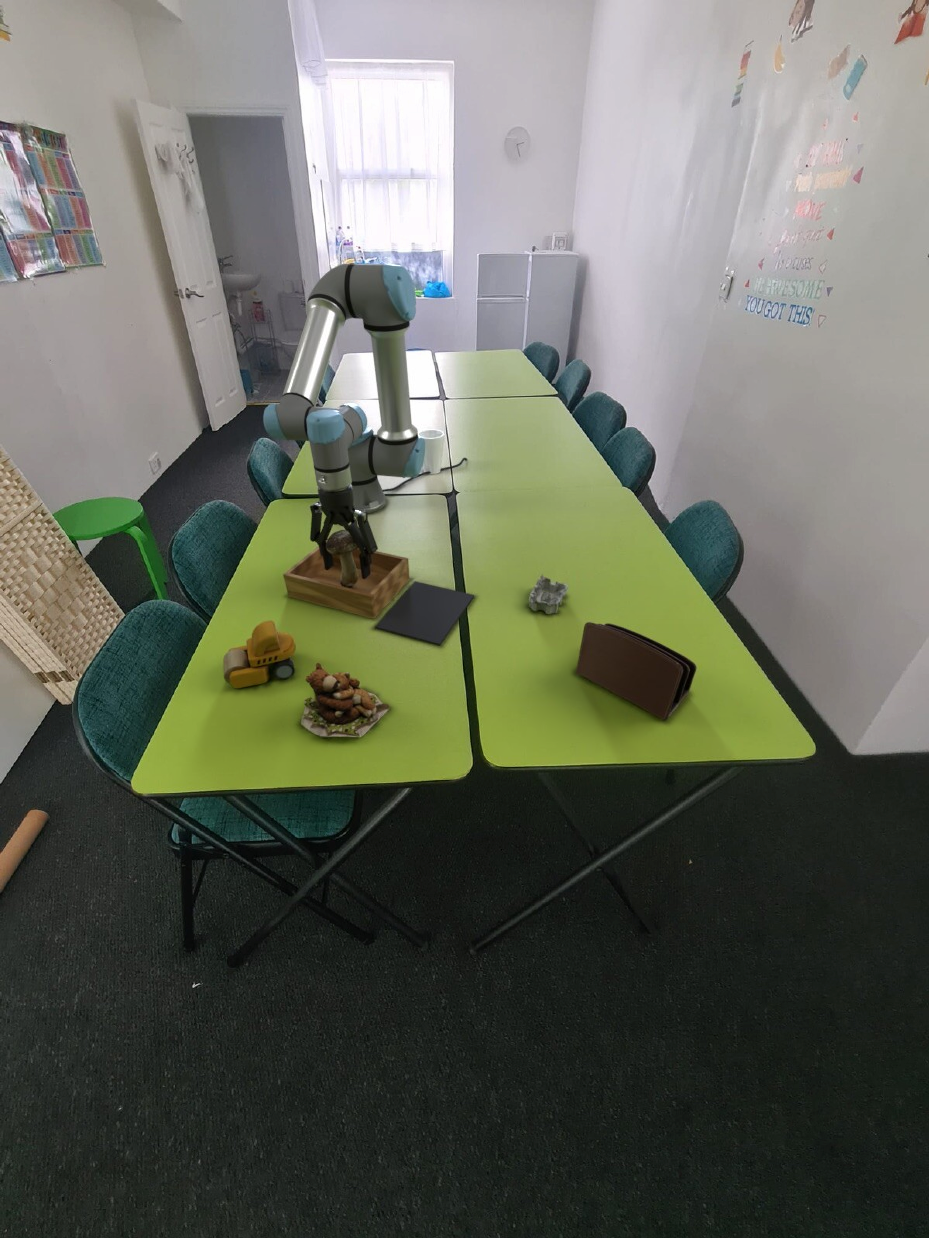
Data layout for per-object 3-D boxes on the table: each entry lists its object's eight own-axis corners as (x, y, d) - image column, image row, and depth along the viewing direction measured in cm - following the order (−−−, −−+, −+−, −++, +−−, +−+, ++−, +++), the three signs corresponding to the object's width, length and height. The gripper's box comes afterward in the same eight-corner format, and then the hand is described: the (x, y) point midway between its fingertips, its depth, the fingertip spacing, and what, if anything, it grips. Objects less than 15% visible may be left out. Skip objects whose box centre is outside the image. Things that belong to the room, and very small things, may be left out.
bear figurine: (360, 753, 97) (352, 704, 90) (289, 728, 102) (276, 679, 94) (397, 701, 107) (392, 653, 100) (331, 680, 112) (322, 633, 105)
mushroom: (360, 599, 134) (352, 544, 125) (326, 595, 135) (316, 540, 126) (373, 578, 141) (366, 525, 132) (340, 574, 143) (332, 521, 134)
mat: (415, 583, 140) (415, 581, 140) (474, 597, 135) (474, 595, 135) (375, 628, 125) (374, 626, 125) (439, 646, 120) (439, 643, 120)
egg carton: (540, 586, 139) (541, 572, 136) (569, 594, 136) (571, 580, 134) (524, 609, 131) (525, 594, 129) (554, 617, 128) (556, 603, 126)
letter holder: (665, 722, 103) (683, 665, 94) (574, 673, 113) (583, 618, 105) (689, 693, 109) (707, 637, 100) (600, 649, 119) (610, 595, 111)
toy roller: (226, 665, 116) (212, 625, 109) (296, 649, 120) (287, 610, 113) (227, 694, 109) (213, 653, 103) (302, 675, 113) (292, 635, 107)
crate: (329, 560, 149) (326, 539, 145) (409, 579, 141) (408, 558, 138) (288, 596, 136) (282, 574, 132) (374, 619, 128) (371, 596, 124)
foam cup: (416, 474, 195) (413, 437, 187) (422, 464, 202) (420, 428, 194) (442, 476, 193) (441, 439, 186) (447, 466, 201) (446, 430, 193)
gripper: (282, 483, 123) (300, 570, 136) (370, 500, 116) (380, 589, 129) (302, 471, 128) (318, 555, 142) (387, 486, 122) (395, 573, 135)
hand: (347, 571), depth 136 cm, fingers open, 10 cm apart
